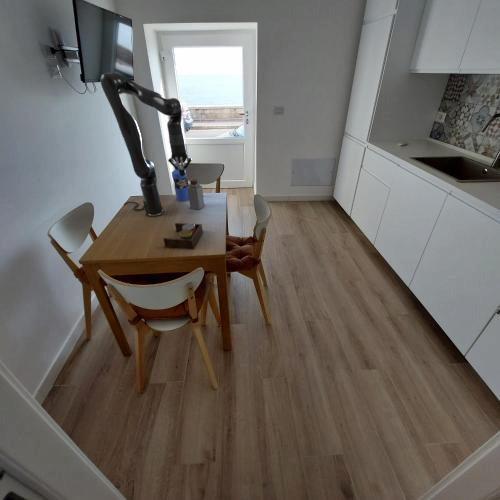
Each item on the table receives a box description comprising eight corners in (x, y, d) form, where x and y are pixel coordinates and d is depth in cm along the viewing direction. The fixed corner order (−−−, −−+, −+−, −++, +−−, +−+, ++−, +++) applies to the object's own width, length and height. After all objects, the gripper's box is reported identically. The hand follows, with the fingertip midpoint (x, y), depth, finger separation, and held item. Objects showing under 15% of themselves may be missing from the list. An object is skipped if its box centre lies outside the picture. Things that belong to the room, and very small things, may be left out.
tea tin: (180, 246, 140) (177, 234, 136) (184, 240, 145) (181, 228, 141) (191, 247, 139) (189, 235, 135) (195, 240, 144) (193, 229, 140)
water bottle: (174, 197, 192) (168, 162, 178) (187, 195, 196) (181, 160, 182) (178, 202, 186) (172, 165, 172) (191, 199, 189) (186, 163, 175)
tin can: (181, 238, 146) (180, 229, 143) (186, 232, 152) (184, 223, 149) (194, 239, 145) (192, 230, 142) (197, 232, 151) (196, 223, 148)
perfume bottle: (204, 205, 181) (201, 178, 171) (199, 209, 176) (195, 182, 166) (195, 204, 183) (191, 177, 173) (190, 208, 178) (186, 181, 168)
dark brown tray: (165, 247, 139) (163, 239, 137) (177, 230, 153) (175, 222, 151) (193, 248, 138) (191, 240, 135) (202, 232, 151) (201, 224, 149)
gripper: (191, 140, 142) (196, 173, 152) (166, 141, 143) (172, 173, 153) (188, 144, 136) (193, 178, 146) (162, 144, 137) (169, 178, 147)
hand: (182, 175), depth 149 cm, fingers closed
